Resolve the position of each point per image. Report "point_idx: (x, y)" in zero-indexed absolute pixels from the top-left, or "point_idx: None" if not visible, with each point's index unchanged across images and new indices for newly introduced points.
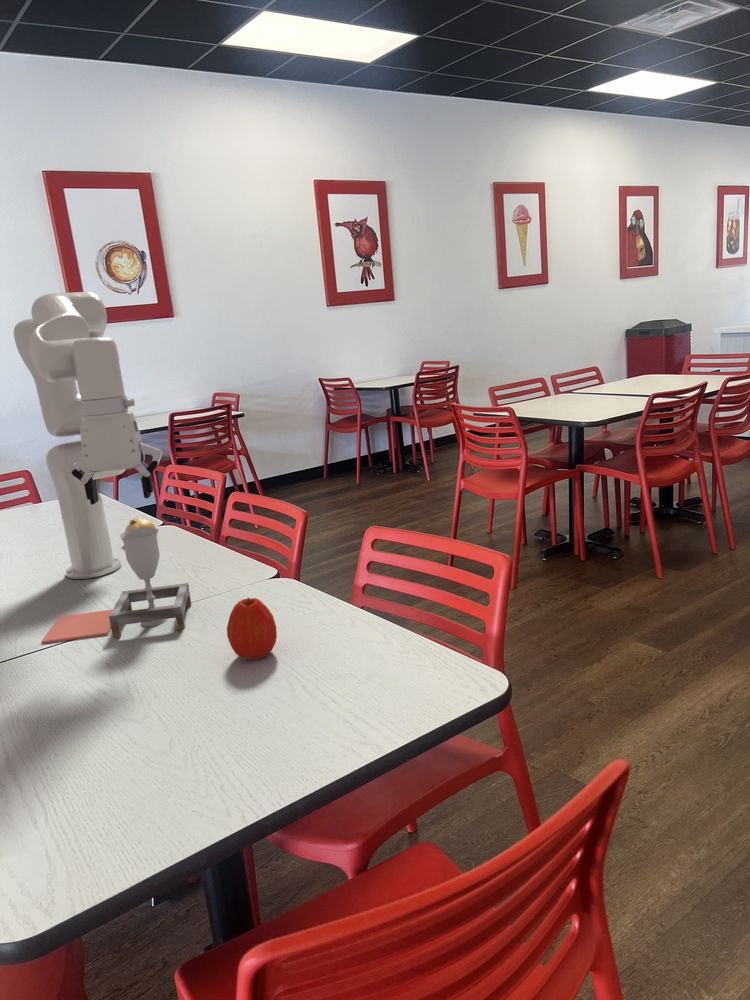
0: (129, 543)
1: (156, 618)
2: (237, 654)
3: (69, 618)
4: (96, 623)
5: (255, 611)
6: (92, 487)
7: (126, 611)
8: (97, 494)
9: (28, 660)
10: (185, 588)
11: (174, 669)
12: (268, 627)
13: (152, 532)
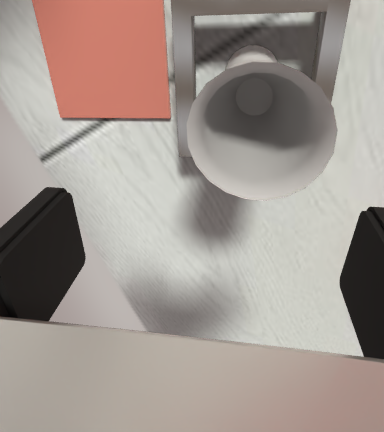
0: (227, 174)
1: None
2: None
3: (59, 5)
4: (133, 62)
5: None
6: (40, 313)
7: None
8: (54, 212)
9: (73, 172)
10: (341, 36)
11: (292, 263)
12: None
13: (307, 89)
